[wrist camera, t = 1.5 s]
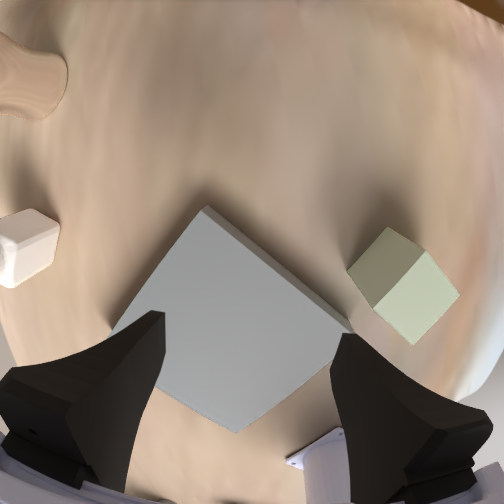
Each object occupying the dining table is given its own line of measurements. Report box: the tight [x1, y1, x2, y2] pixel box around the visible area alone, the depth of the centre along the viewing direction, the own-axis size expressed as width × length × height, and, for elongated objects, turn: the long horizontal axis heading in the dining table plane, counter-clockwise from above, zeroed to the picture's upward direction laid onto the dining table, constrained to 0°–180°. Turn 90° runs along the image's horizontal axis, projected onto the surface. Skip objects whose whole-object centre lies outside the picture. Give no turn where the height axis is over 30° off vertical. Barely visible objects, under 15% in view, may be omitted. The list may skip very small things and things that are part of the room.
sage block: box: [347, 227, 460, 346], centre depth 19 cm, size 4×4×6 cm
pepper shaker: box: [0, 209, 60, 288], centre depth 17 cm, size 4×4×10 cm
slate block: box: [107, 204, 355, 433], centre depth 23 cm, size 14×14×3 cm
